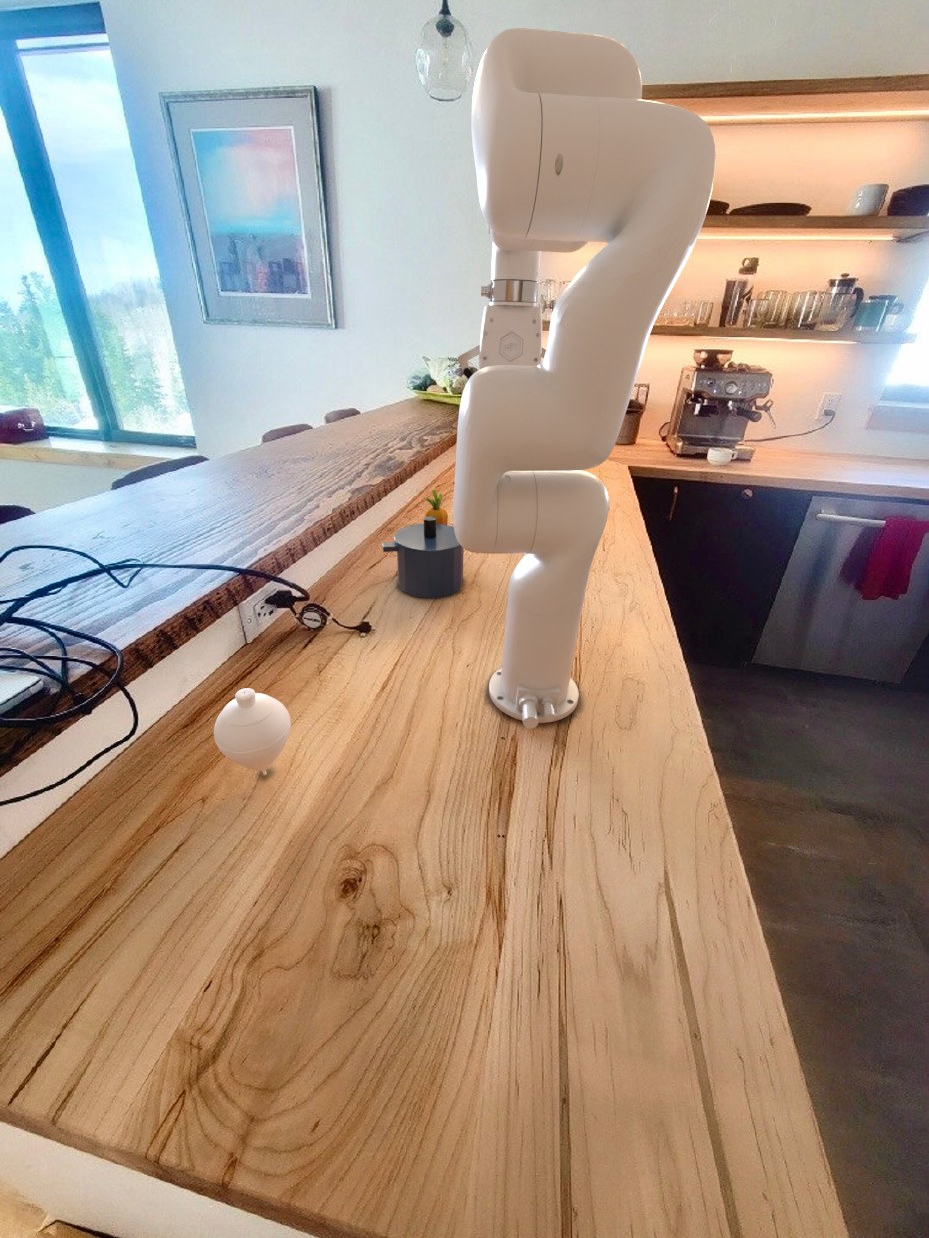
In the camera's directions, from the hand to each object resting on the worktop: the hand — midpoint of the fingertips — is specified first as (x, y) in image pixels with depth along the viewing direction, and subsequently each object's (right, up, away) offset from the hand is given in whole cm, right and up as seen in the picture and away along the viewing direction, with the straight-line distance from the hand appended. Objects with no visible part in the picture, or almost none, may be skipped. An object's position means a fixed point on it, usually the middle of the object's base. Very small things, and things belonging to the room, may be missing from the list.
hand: (506, 411), depth 88 cm
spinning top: (-30, -55, -30) cm, 69 cm away
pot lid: (-14, -21, +7) cm, 26 cm away
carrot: (-14, -23, +22) cm, 35 cm away
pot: (-14, -29, +12) cm, 35 cm away
